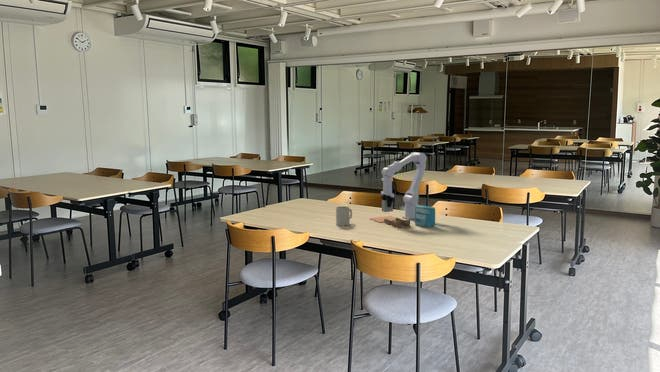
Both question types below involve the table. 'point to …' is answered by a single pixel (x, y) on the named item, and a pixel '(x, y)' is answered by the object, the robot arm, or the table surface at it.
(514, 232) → the table surface
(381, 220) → the mat
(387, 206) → the blank block
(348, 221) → the mug
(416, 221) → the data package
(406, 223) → the frame
